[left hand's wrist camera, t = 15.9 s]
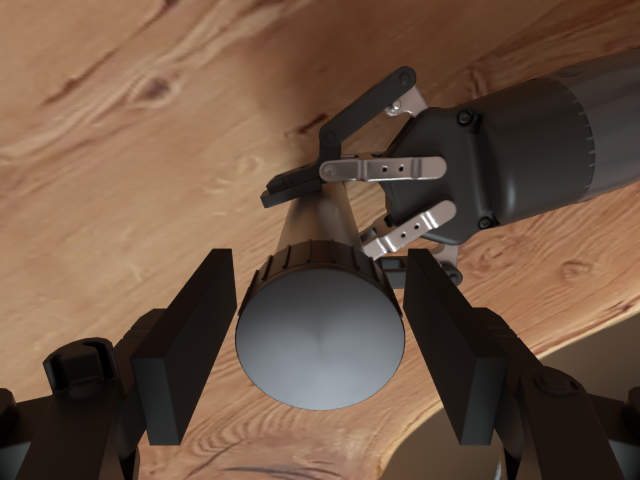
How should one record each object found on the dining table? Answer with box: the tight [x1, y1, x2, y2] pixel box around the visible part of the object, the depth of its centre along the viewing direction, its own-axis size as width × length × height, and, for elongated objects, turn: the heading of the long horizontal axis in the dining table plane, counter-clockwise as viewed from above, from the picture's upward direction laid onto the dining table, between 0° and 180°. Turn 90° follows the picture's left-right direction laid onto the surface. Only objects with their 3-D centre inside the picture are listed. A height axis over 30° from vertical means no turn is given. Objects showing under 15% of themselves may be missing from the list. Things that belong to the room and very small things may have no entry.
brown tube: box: [275, 181, 365, 254], centre depth 20 cm, size 4×4×18 cm
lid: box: [235, 239, 405, 410], centre depth 11 cm, size 5×5×2 cm
